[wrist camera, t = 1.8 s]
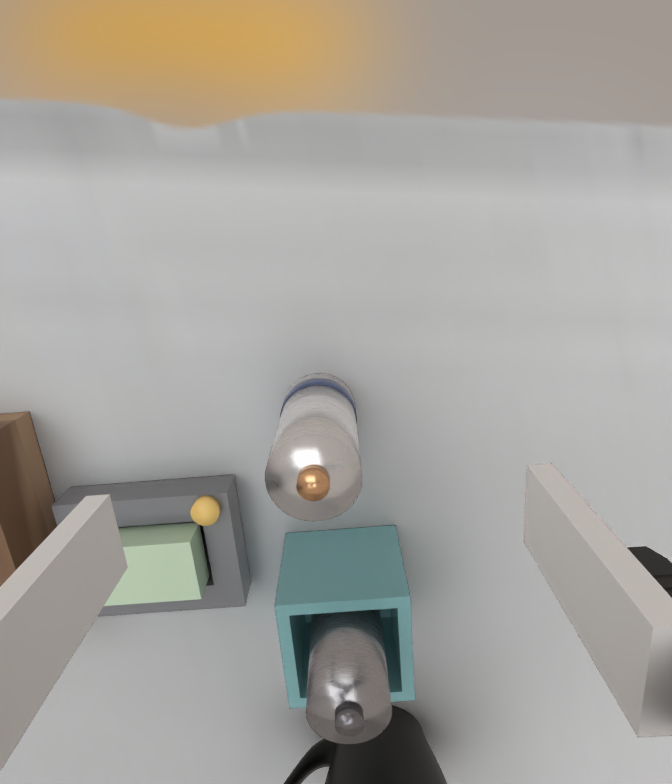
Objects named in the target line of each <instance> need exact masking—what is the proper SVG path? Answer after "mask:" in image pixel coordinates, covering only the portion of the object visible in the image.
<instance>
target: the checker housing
mask: <svg viewBox="0 0 672 784" xmlns="http://www.w3.org/2000/svg"><path fill="white" fill-rule="evenodd" d="M107 494H110V498H111V502H112V506H113V510H114V514H115V518H116V522H117V526H118V527H126V526H139V525H152V524H166V523H179V522H192V521H194V522H196V523H197V524H199V525H202V526H203V529H204V534H205V539H206V545H207V550H208V555H209V561H210V563H207V566H208V571H209V579H208V582H207V584H206V587H205V590H204V593H203V596H202V598H201V599H197V600H183V601H169V602H154V603H140V604H126V605H112V606H103V608H102V610H101V611H100V613H99V614H98V616H112V615H126V614H140V613H154V612H169V611H183V610H197V609H211V608H225V607H239V606H246V602H247V597H248V593H249V589H250V585H251V578H250V571H249V565H248V559H247V553H246V546H245V540H244V534H243V528H242V521H241V515H240V509H239V503H238V497H237V490H236V484H235V478H234V475H221V476H208V477H195V478H182V479H169V480H156V481H143V482H130V483H117V484H104V485H91V486H78V487H70V488H69V489H68V490H67V491H66V492H65V493H64V494H63V495H62V496H61V497H60V498H59V499H58V500H57V501H56V502H55V503H54V504H53V505H52V510H53V513H54V517H55V520H56V524H57V526H58V525H59V524H60V523H61V522H62V521H63V520H64V519H65V518H66V517H67V516H68V515H69V514H70V512H71V511H72V510H73V509H74V508H75V507H76V506H77V505H78V504H79V503H80V502H81V501H82V500H83V499H84V498H85V497H86V496H93V495H107ZM98 616H97V617H98Z"/></svg>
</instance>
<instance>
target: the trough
mask: <svg viewBox="0 0 672 784" xmlns="http://www.w3.org/2000/svg"><path fill="white" fill-rule="evenodd" d="M54 503H55V500H54V497H53V493H52V490H51V486H50V483H49V479H48V476H47V472H46V469H45V465H44V462H43V459H42V455H41V452H40V448H39V445H38V441H37V438H36V434H35V431H34V427H33V424H32V420H31V417H30V413H29V412H18V413H6V414H0V587H1V586H2V584H3V583H4V582H5V581H6V580H7V579H8V578H9V577H10V576H11V575H12V574H13V573H14V572H15V571H16V570H17V569H18V568H19V566H20V565H21V564H22V563H23V562H24V561H25V560H26V559H27V558H28V557H29V556H30V555H31V554H32V553H33V552H34V551H35V550H36V548H37V547H38V546H39V545H40V544H41V543H42V542H43V541H44V540H45V539H46V538H47V537H48V536H49V535H50V534H51V533H52V532H53V530H54V529H55V528H56V527H57V524H56V520H55V517H54V513H53V510H52V505H53V504H54Z"/></svg>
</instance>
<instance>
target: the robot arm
mask: <svg viewBox="0 0 672 784" xmlns="http://www.w3.org/2000/svg"><path fill="white" fill-rule="evenodd" d="M524 543H525V545H526V546H527V548H528V550H529V551H530V553H531V555H532V557H533V558H534V560H535V562H536V563H537V565H538V567H539V569H540V570H541V572H542V574H543V575H544V577H545V579H546V581H547V582H548V584H549V586H550V587H551V589H552V591H553V593H554V594H555V596H556V598H557V600H558V601H559V603H560V605H561V606H562V608H563V610H564V612H565V613H566V615H567V617H568V618H569V620H570V622H571V624H572V625H573V627H574V629H575V630H576V632H577V634H578V636H579V637H580V639H581V641H582V642H583V644H584V646H585V648H586V649H587V651H588V653H589V655H590V656H591V658H592V660H593V661H594V663H595V665H596V667H597V668H598V670H599V672H600V673H601V675H602V677H603V679H604V680H605V682H606V684H607V685H608V687H609V689H610V691H611V692H612V694H613V696H614V697H615V699H616V701H617V703H618V704H619V706H620V708H621V710H622V711H623V713H624V715H625V716H626V718H627V720H628V722H629V723H630V725H631V727H632V728H633V730H634V732H635V734H636V735H637V737H658V736H672V563H671V562H670V561H669V560H668V559H667V558H665V557H663V556H662V555H660V554H658V553H656V552H655V551H653V550H651V549H650V548H648V547H646V546H644V547H629V548H627V547H626V546H625V545H624V544H623V543H622V542H621V540H620V539H619V538H618V537H617V536H616V535H615V534H614V533H613V531H612V530H611V529H610V528H609V527H608V526H607V525H606V524H605V523H604V521H603V520H602V519H601V518H600V517H599V516H598V515H597V514H596V512H595V511H594V510H593V509H592V508H591V507H590V506H589V505H588V503H587V502H586V501H585V500H584V499H583V498H582V497H581V496H580V494H579V493H578V492H577V491H576V490H575V489H574V488H573V487H572V486H571V484H570V483H569V482H568V481H567V480H566V479H565V478H564V477H563V475H562V474H561V473H560V472H559V471H558V470H557V469H556V468H555V466H554V465H553V464H552V463H550V464H535V465H527V470H526V495H525V521H524ZM127 568H128V566H127V562H126V558H125V554H124V550H123V546H122V542H121V538H120V534H119V530H118V526H117V522H116V518H115V514H114V510H113V506H112V502H111V498H110V494H107V495H93V496H86V497H85V498H84V499H83V500H82V501H81V502H80V503H79V504H78V505H77V506H76V507H75V508H74V509H73V510H72V511H71V512H70V514H69V515H68V516H67V517H66V518H65V519H64V520H63V521H62V522H61V523H60V524H59V525H58V526H57V527H56V528H55V529H54V530H53V532H52V533H51V534H50V535H49V536H48V537H47V538H46V539H45V540H44V541H43V542H42V543H41V544H40V545H39V546H38V547H37V548H36V550H35V551H34V552H33V553H32V554H31V555H30V556H29V557H28V558H27V559H26V560H25V561H24V562H23V563H22V564H21V565H20V566H19V568H18V569H17V570H16V571H15V572H14V573H13V574H12V575H11V576H10V577H9V578H8V579H7V580H6V581H5V582H4V583H3V584H2V586H1V587H0V770H2V768H3V767H4V765H5V763H6V762H7V760H8V759H9V757H10V755H11V754H12V752H13V751H14V749H15V747H16V746H17V744H18V743H19V741H20V739H21V738H22V736H23V735H24V733H25V731H26V730H27V728H28V726H29V725H30V723H31V722H32V720H33V718H34V717H35V715H36V714H37V712H38V710H39V709H40V707H41V706H42V704H43V702H44V701H45V699H46V698H47V696H48V694H49V693H50V691H51V690H52V688H53V686H54V685H55V683H56V682H57V680H58V678H59V677H60V675H61V674H62V672H63V670H64V669H65V667H66V666H67V664H68V662H69V661H70V659H71V658H72V656H73V654H74V653H75V651H76V650H77V648H78V646H79V645H80V643H81V642H82V640H83V638H84V637H85V635H86V634H87V632H88V630H89V629H90V627H91V626H92V624H93V622H94V621H95V619H96V618H97V616H98V614H99V613H100V611H101V610H102V608H103V606H104V605H105V603H106V601H107V600H108V598H109V597H110V595H111V593H112V592H113V590H114V589H115V587H116V585H117V584H118V582H119V581H120V579H121V577H122V576H123V574H124V573H125V571H126V569H127Z"/></svg>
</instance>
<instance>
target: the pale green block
mask: <svg viewBox="0 0 672 784" xmlns="http://www.w3.org/2000/svg"><path fill="white" fill-rule="evenodd" d="M118 530H119V534H120V538H121V542H122V546H123V550H124V554H125V558H126V562H127V566H128V568H127V569H126V571H125V573H124V574H123V576H122V577H121V579H120V581H119V582H118V584H117V585H116V587H115V589H114V590H113V592H112V593H111V595H110V597H109V598H108V600H107V601H106V603H105V605H104V606H112V605H126V604H140V603H154V602H169V601H183V600H197V599H201V598H202V596H203V593H204V590H205V587H206V584H207V582H208V579H209V571H208V566H207V561H206V555H205V550H204V545H203V540H202V534H201V529H200V525H199V524H197V523H196V522H192V523H179V524H166V525H152V526H139V527H126V528H118Z"/></svg>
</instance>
